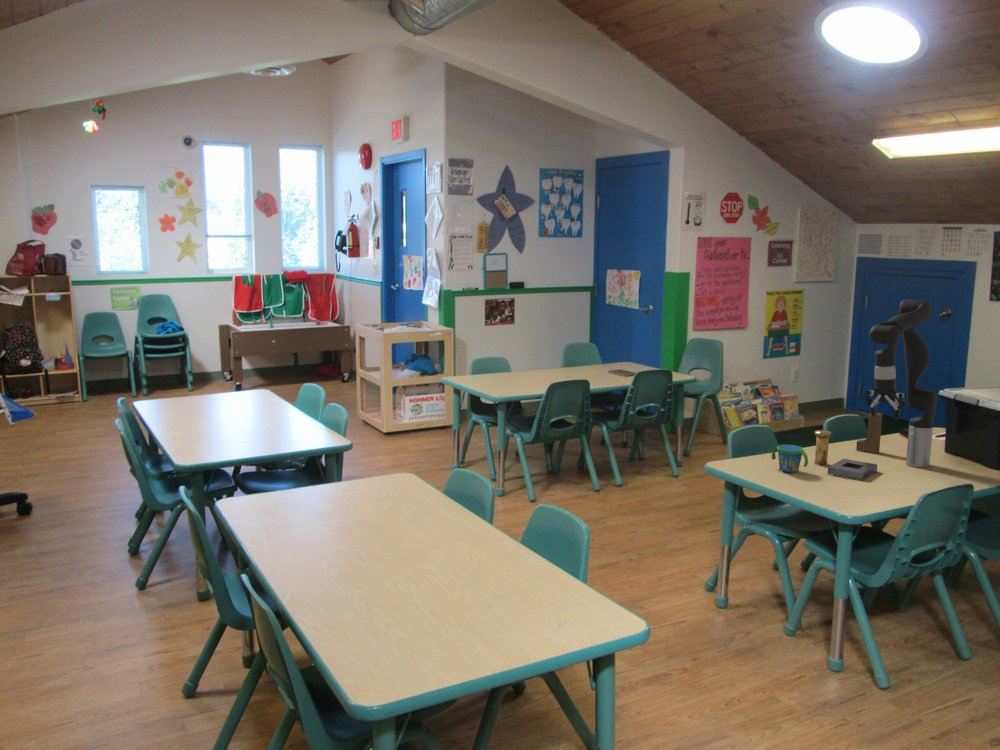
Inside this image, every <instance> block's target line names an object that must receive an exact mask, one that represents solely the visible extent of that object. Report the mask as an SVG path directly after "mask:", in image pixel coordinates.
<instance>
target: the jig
mask: <svg viewBox="0 0 1000 750" xmlns="http://www.w3.org/2000/svg"><path fill="white" fill-rule="evenodd" d="M827 467H828V468H827V475H829V474H833V475H832V476H835V475H838V476H837V477H840V476H844V477H843V478H846V477H848V478H847V479H851V478H853V479H852V480H856V479H857V481H862V480H863V481H864V480H867V478H869V477H870V476H872V475H874V474H875V473H877V472H878V464H877V463H871V462H865V461H860V460H852V459H847V458H842V459H840V460H839V461H837V462H835V463H833V464H831V465H830V466H827Z"/></svg>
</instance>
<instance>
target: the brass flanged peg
mask: <svg viewBox="0 0 1000 750" xmlns="http://www.w3.org/2000/svg"><path fill="white" fill-rule="evenodd" d="M814 435H815V436H816V438H815V439H816V442H815V454H814V464H815V463H816V464H819V465H818V466H822V465H824V466H828V460H829V459H828V457H829V456H828V455H829V441H830V437H831V436H832V431H829V430H823V429H822V430H821V429H820V430H819V429H818V430H817V429H816V430H814ZM816 464H815V465H816Z"/></svg>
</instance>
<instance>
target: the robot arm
mask: <svg viewBox="0 0 1000 750" xmlns="http://www.w3.org/2000/svg"><path fill="white" fill-rule="evenodd" d="M931 315H932V306H931V303H930V302H929V301H928V300H926V299H925V300H924V299H910V298H909V299H907V298H906V299H903V300H901V302H900V303H899V307H898V314H897V315H894V316H893V317H890V318H889V319H888V320H887V321H883V322H880V323H877V324H875V325H873V326H872V327H871V328H870V330H869V333H868V337H869V340H870V341H871V342H872V343H874V344H877V345H878V344H879V345H880V344H883V345H884V344H885V345H887V347H886V348H883V349H877V350H876V351H875V352H874V370H873V371H874V373H873V377H874V384H873V385H874V390H872V389H868V390H867V391H866V392H865V393H866V395H865V405H866V407H867V406H868V407H870V413H871V415H873V417H876V416H877V413H878V407H877V405H879V404H880V403H881V404H883V403H885V404H890V406H892V407H893V409H894V412H893V414H894V420H899V418H901V410H902V409H905V408H906V403H907V406H908V408H909V409H912V410H914V411H915V410H917V411H921V412H922V411H923V412H924V413H923V415H919V416H914V417H912V418H910V419H909V423H908V436H907V447H906V459H905V464H906V465H907V466H909V467H914V468H929V467H930V463H931V455H932V444H933V434H934V433H933V430H934V422H935V416H936V409H937V401H938V394H937V392H936V391H935V390H932V389H926V388H919V386H918V384H919V383H918V382H919V379H920V378H921V376H922V375H923V374H924V373H925V371H926V370H927V369H928V367H929V366H930V362H931V361H930V350H929V349H930V348H929V347H928V344H927V343H926V342H925V340H924V339H923V338H922V336H920V335H919V333H918V332H917V330H916V329H915V326H918V325H921V324H924V323H926V322H927V321H929V319H930V317H931ZM901 334H902V337H903V339H902V340H903V351H904V352H903V353H904V363H905V364H904V365H905V372H906V393H905V392H897V390H896V389H897V382H896V381H897V373H896V372H897V370H896V352H897V351H896V350H897V347H898V343H899V341H900V336H901ZM905 394H906V395H905ZM873 396H874V397H875V399H874V400H873ZM896 397H897V399H898V400H897V399H896Z"/></svg>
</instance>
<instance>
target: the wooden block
mask: <svg viewBox="0 0 1000 750" xmlns="http://www.w3.org/2000/svg"><path fill="white" fill-rule="evenodd" d="M882 422H883V413H880V412H877V416H876V417H873V415H871V412H870V413H869V414H868V425H867V426H868V427H867V435H866V438H863V439H862V438H860V439H858V440H857V441H856V447H855V448H856V449H855V450H856V451H857V450H860V451H859V452H863V451H865V452H864V453H869V452H870V453H871V454H875V455H876V454H878V453H880V448H881V434H882V424H883V423H882ZM870 453H869V454H870Z"/></svg>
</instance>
